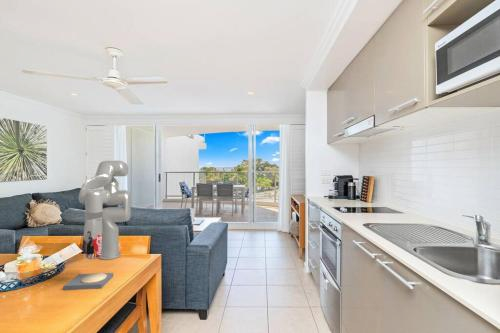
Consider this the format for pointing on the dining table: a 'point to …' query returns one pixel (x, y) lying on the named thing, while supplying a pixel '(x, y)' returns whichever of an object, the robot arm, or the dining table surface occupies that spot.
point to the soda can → (96, 248)
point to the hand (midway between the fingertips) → (94, 251)
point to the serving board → (88, 281)
